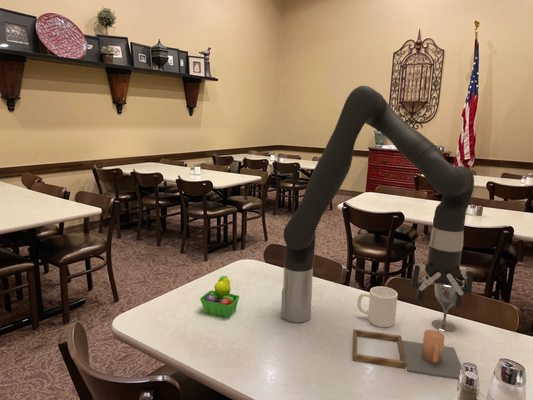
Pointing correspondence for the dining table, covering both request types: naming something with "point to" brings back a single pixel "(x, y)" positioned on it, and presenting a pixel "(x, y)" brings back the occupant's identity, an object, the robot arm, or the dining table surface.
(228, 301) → the fruit basket
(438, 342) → the orange mug
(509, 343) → the dining table surface
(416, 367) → the rubber mat
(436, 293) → the wine glass
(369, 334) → the walnut frame
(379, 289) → the cup
